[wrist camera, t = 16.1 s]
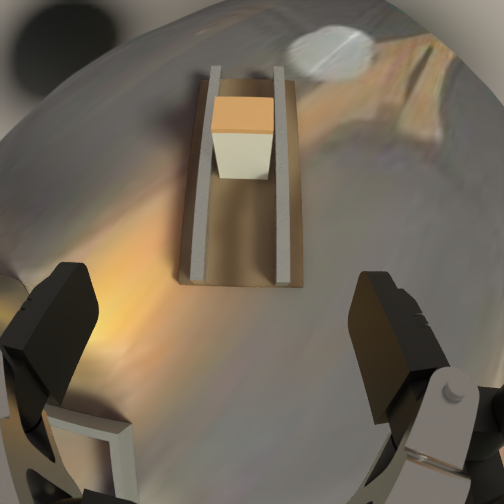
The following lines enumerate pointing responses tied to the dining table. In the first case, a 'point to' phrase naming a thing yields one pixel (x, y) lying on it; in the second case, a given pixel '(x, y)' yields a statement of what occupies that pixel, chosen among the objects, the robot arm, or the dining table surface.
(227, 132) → the block
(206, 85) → the rail board
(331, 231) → the dining table surface
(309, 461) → the dining table surface
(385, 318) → the robot arm
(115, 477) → the large tray rim
